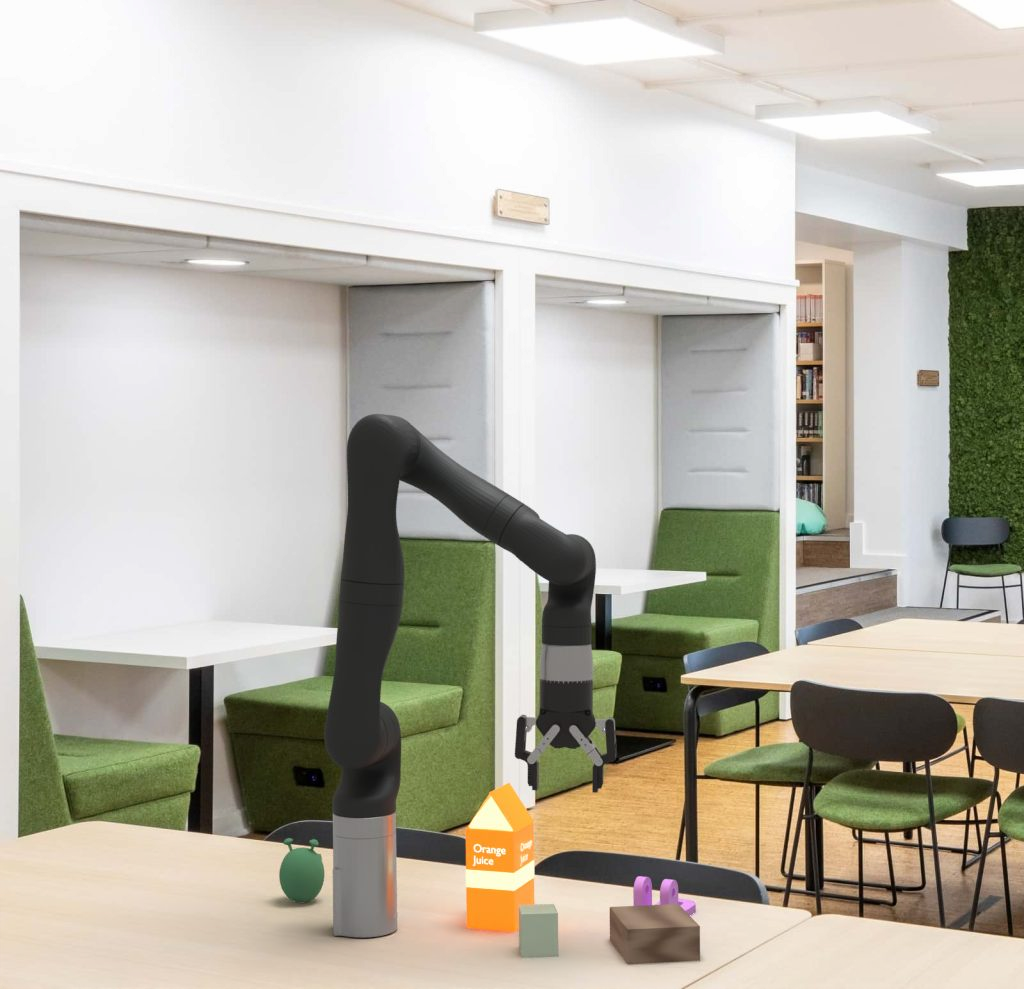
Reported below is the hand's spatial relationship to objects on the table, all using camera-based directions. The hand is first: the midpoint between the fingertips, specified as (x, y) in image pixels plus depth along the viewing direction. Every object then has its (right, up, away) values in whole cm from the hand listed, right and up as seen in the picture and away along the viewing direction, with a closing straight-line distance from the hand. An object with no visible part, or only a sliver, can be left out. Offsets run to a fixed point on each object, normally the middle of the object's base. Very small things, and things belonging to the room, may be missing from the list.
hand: (565, 790), depth 229 cm
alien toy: (-40, -22, +25) cm, 52 cm away
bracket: (+16, -22, +13) cm, 30 cm away
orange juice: (-9, -22, +11) cm, 26 cm away
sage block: (-4, -22, -4) cm, 22 cm away
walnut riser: (+12, -22, -4) cm, 25 cm away
